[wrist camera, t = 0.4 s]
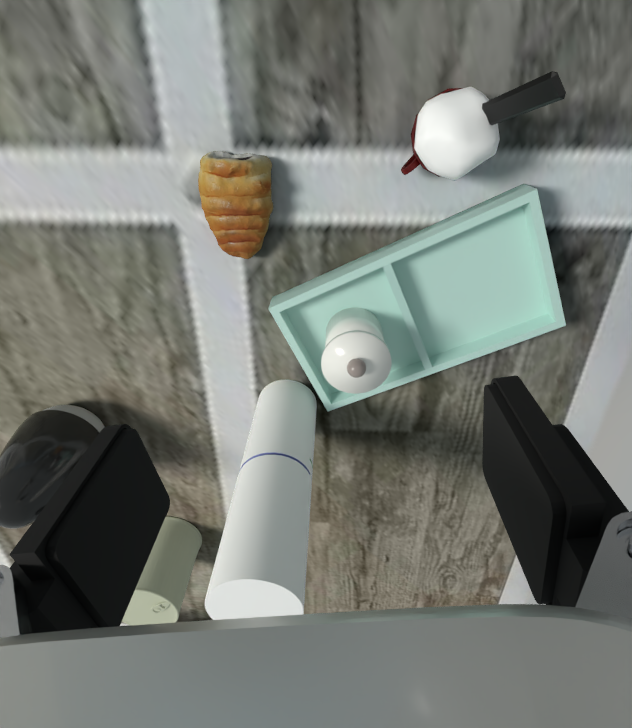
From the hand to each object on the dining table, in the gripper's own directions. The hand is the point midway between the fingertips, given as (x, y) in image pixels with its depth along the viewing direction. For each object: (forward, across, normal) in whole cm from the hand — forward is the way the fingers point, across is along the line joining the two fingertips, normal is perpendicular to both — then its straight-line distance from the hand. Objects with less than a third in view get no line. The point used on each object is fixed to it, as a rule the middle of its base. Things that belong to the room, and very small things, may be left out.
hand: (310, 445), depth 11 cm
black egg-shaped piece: (+34, +36, +21) cm, 54 cm away
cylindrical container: (+34, +9, +22) cm, 41 cm away
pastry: (+34, +8, -2) cm, 35 cm away
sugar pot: (+33, -1, +13) cm, 35 cm away
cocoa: (+34, -11, -4) cm, 36 cm away
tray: (+34, -7, +11) cm, 36 cm away
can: (+34, +32, +44) cm, 64 cm away
